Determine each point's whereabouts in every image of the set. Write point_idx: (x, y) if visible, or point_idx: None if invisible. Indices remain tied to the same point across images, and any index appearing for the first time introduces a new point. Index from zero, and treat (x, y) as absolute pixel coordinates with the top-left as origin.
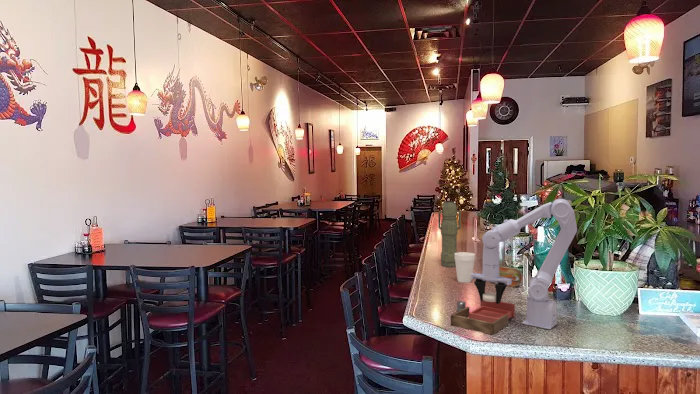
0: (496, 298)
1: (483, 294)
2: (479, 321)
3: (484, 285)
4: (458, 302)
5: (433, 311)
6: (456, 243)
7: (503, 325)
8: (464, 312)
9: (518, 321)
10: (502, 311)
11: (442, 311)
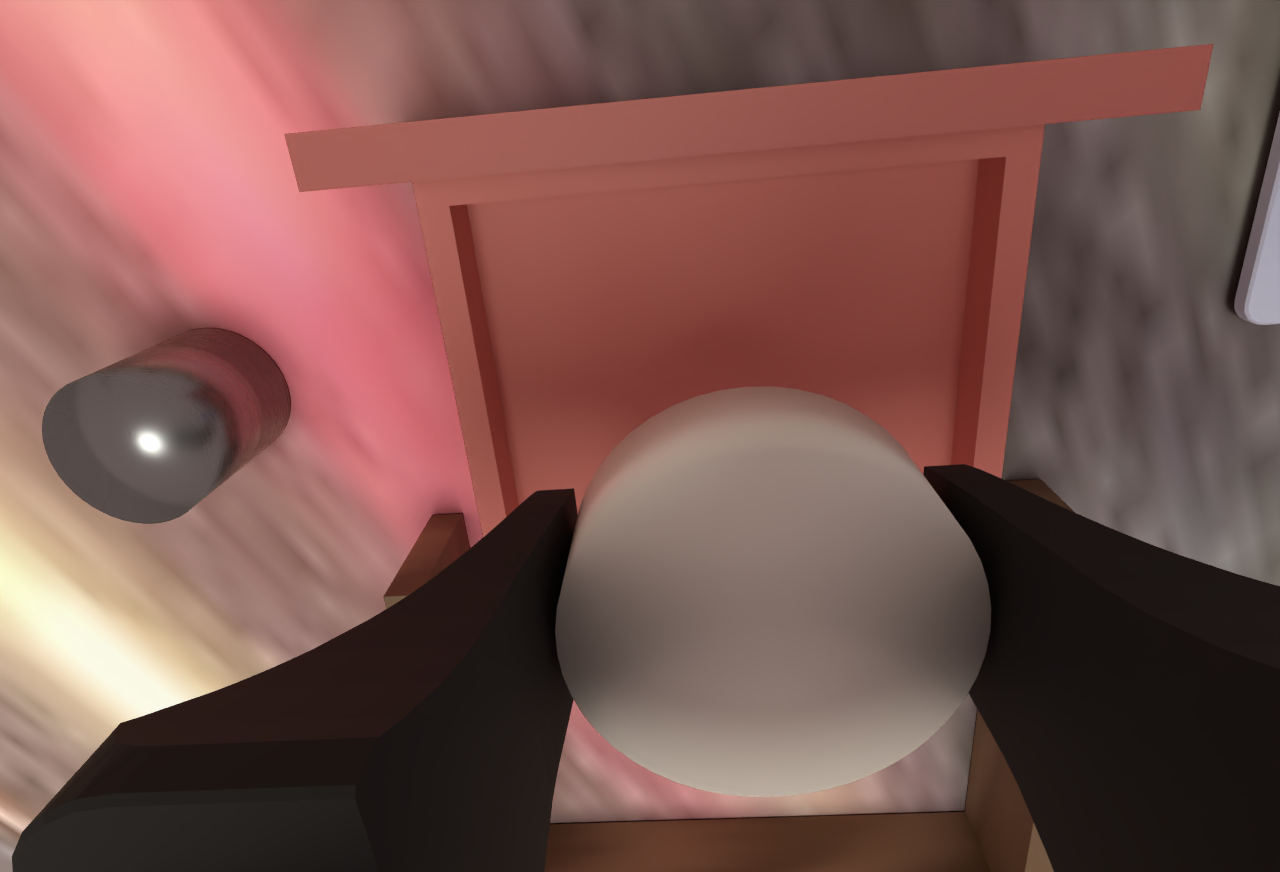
0: (973, 684)
1: (629, 744)
2: None
3: (480, 737)
4: (105, 491)
5: (19, 621)
6: None
7: None
8: None
9: (1144, 221)
10: (850, 168)
11: (77, 552)
